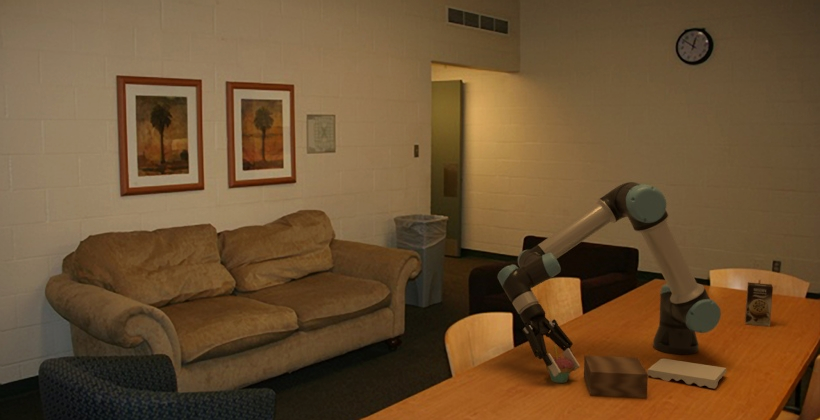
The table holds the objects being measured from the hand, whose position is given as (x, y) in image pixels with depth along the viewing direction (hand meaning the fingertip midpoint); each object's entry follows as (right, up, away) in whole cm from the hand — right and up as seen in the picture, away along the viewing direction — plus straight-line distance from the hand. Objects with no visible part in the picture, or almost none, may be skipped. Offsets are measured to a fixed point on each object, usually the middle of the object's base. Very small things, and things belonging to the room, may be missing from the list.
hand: (567, 371), depth 228 cm
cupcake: (-2, -4, +3) cm, 5 cm away
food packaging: (+39, -4, +7) cm, 40 cm away
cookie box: (+91, +3, +73) cm, 117 cm away
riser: (+13, -4, -3) cm, 14 cm away
